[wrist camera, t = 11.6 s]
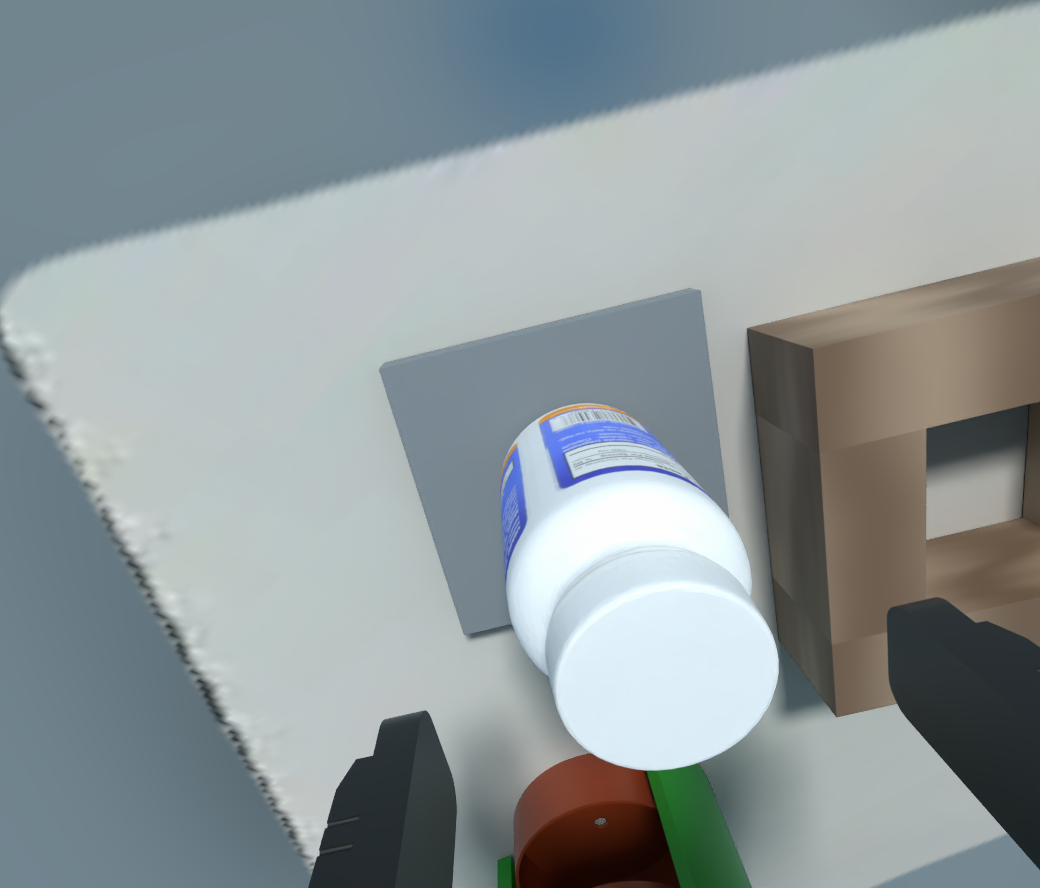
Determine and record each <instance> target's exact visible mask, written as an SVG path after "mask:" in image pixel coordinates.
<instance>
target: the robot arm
mask: <svg viewBox="0 0 1040 888" xmlns="http://www.w3.org/2000/svg"><path fill="white" fill-rule="evenodd" d="M887 644H888V677H889V683H890V687H891V691H892V693H893V696H894V698H895V700H896V702H897V704H898V706H899V708H900V709H901V711H902V713H903V714H904V715H905V717H906V718H907V719H908V720H909V722H910V723H911V724H912V725H913V726H914V727H915V728H916V729H917V731H918V732H919V733H920V734H921V735H922V736H923V737H924V739H925V740H926V741H927V742H928V743H929V744H930V745H931V747H932V748H933V749H934V750H935V751H936V752H937V753H938V755H939V756H940V757H941V758H942V759H943V760H944V761H945V763H946V764H947V765H948V766H949V767H950V768H951V769H952V770H953V772H954V773H955V774H956V775H957V776H958V777H959V778H960V780H961V781H962V782H963V783H964V784H965V785H966V786H967V788H968V789H969V790H970V791H971V792H972V793H973V794H974V796H975V797H976V798H977V799H978V800H979V801H980V802H981V803H982V805H983V806H984V807H985V808H986V809H987V810H988V811H989V813H990V814H991V815H992V816H993V817H994V818H995V819H996V821H997V822H998V823H999V824H1000V825H1001V826H1002V827H1003V829H1004V830H1005V831H1006V832H1007V833H1008V834H1009V835H1010V837H1011V838H1012V839H1013V840H1014V841H1015V842H1016V843H1017V844H1018V846H1019V847H1020V848H1021V849H1022V850H1023V851H1024V852H1025V853H1026V855H1027V856H1028V857H1029V858H1030V859H1031V860H1032V862H1033V863H1034V864H1035V865H1036V866H1037V867H1038V868H1039V870H1040V647H1039V646H1037V645H1036V644H1034V643H1033V642H1032V641H1030V640H1029V639H1028V638H1025V637H1023V636H1021V635H1019V634H1016V633H1014V632H1012V631H1009V630H1007V629H1005V628H1002V627H1000V626H998V625H995V624H993V623H991V622H989V621H983V622H978V623H975V622H974V621H973V620H972V619H970V618H969V617H968V616H966V615H965V614H964V613H963V612H961V611H960V610H959V609H957V608H956V607H955V606H954V605H952V604H951V603H950V602H948V601H947V600H945V599H943V598H940V597H934V598H930V599H925V600H921V601H916V602H912V603H907V604H903V605H898V606H894V607H891V608H890V609H889V610H888V613H887ZM456 815H457V806H456V794H455V787H454V782H453V777H452V774H451V771H450V768H449V765H448V763H447V760H446V757H445V754H444V752H443V749H442V746H441V744H440V741H439V738H438V735H437V733H436V730H435V727H434V724H433V722H432V719H431V717H430V715H429V713H428V712H427V711H420V712H416V713H411V714H407V715H402V716H398V717H394V718H389V719H385V720H383V722H382V723H381V725H380V729H379V733H378V737H377V741H376V746H375V750H374V754H373V756H370V757H365V758H361V759H356V760H355V762H354V763H353V765H352V766H351V768H350V769H349V771H348V773H347V774H346V776H345V777H344V779H343V780H342V782H341V783H340V785H339V786H338V788H337V789H336V792H335V796H334V799H333V803H332V806H331V810H330V813H329V817H328V820H327V824H328V827H327V828H326V829H325V831H324V834H323V838H322V841H321V845H320V848H319V851H320V855H319V856H318V857H317V859H316V862H315V866H314V869H313V873H312V876H311V880H310V883H309V887H308V888H452V881H453V864H454V848H455V832H456Z"/></svg>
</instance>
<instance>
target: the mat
mask: <svg viewBox="0 0 1040 888" xmlns="http://www.w3.org/2000/svg"><path fill="white" fill-rule="evenodd" d="M379 371H380V374H381V377H382V380H383V384H384V387H385V390H386V393H387V396H388V399H389V402H390V405H391V409H392V412H393V415H394V418H395V421H396V424H397V427H398V430H399V434H400V437H401V440H402V443H403V446H404V449H405V452H406V455H407V458H408V462H409V465H410V468H411V471H412V474H413V477H414V480H415V483H416V487H417V490H418V493H419V496H420V499H421V502H422V505H423V508H424V512H425V515H426V518H427V521H428V524H429V527H430V530H431V533H432V536H433V540H434V543H435V546H436V549H437V552H438V555H439V558H440V561H441V565H442V568H443V571H444V574H445V577H446V580H447V583H448V586H449V590H450V593H451V596H452V599H453V602H454V605H455V608H456V611H457V614H458V618H459V621H460V624H461V627H462V630H463V633H464V635H467V634H471V633H475V632H480V631H484V630H488V629H493V628H497V627H501V626H505V625H510V624H512V622H511V619H510V614H509V609H508V601H507V594H506V582H505V568H504V551H503V535H502V518H501V503H500V480H501V472H502V468H503V463H504V460H505V458H506V455H507V453H508V451H509V449H510V447H511V446H512V444H513V442H514V441H515V439H516V438H517V437H518V436H519V435H520V433H521V432H522V431H523V430H524V429H525V428H526V427H527V426H528V425H530V424H531V423H532V422H534V421H535V420H537V419H538V418H540V417H541V416H543V415H545V414H547V413H549V412H551V411H553V410H555V409H558V408H561V407H564V406H568V405H573V404H582V403H593V404H601V405H607V406H610V407H613V408H616V409H619V410H621V411H623V412H625V413H627V414H628V415H630V416H632V417H633V418H635V419H636V420H637V421H639V422H640V423H641V424H643V425H644V426H645V427H646V428H647V429H648V430H649V431H650V432H651V433H652V435H653V436H654V437H655V438H656V439H657V440H658V441H659V442H660V443H661V444H662V445H663V446H664V447H665V448H666V450H667V451H668V452H669V453H670V454H671V455H672V456H673V457H674V458H675V459H676V460H677V461H678V462H679V463H680V465H681V466H682V467H683V468H684V469H685V470H686V471H687V472H688V473H689V474H690V475H691V476H692V477H693V479H694V480H695V481H696V482H697V483H698V484H699V485H700V486H701V487H702V488H703V489H704V491H705V492H706V493H707V494H708V495H709V496H710V497H711V498H712V499H713V500H714V502H715V503H716V504H717V505H718V506H719V507H720V508H721V510H722V511H723V512H724V513H725V514H726V516H727V517H728V518H729V514H728V506H727V498H726V490H725V482H724V474H723V466H722V458H721V450H720V442H719V434H718V426H717V418H716V410H715V402H714V394H713V386H712V378H711V370H710V362H709V354H708V346H707V338H706V330H705V322H704V314H703V306H702V298H701V291H700V290H695V289H690V288H689V289H685V290H681V291H676V292H672V293H668V294H664V295H660V296H656V297H652V298H648V299H644V300H640V301H636V302H631V303H627V304H623V305H619V306H615V307H611V308H607V309H603V310H599V311H595V312H591V313H587V314H582V315H578V316H574V317H570V318H566V319H562V320H558V321H554V322H550V323H546V324H542V325H538V326H533V327H529V328H525V329H521V330H517V331H513V332H509V333H505V334H501V335H497V336H493V337H489V338H484V339H480V340H476V341H472V342H468V343H464V344H460V345H456V346H452V347H448V348H444V349H439V350H435V351H431V352H427V353H423V354H419V355H415V356H411V357H407V358H403V359H399V360H395V361H390V362H386V363H384V364H383V365H382V366H381V367H380V369H379Z"/></svg>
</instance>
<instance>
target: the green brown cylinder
mask: <svg viewBox="0 0 1040 888" xmlns="http://www.w3.org/2000/svg"><path fill="white" fill-rule="evenodd" d="M598 818H605V819H606V820H607V822H606V823H605V824H603V825H596V824H595V823H594V821H595V820H596V819H598ZM514 850H515V861H514V859H513V858H512V857H511V856H509V857H506V858H504V859H501V860H499V861H498V888H752V887H751V884H750V882H749V879H748V877H747V874H746V872H745V869H744V867H743V864H742V862H741V860H740V857H739V855H738V852H737V850H736V847H735V845H734V842H733V840H732V837H731V835H730V832H729V830H728V827H727V825H726V822H725V820H724V817H723V815H722V813H721V810H720V808H719V805H718V803H717V800H716V798H715V795H714V793H713V790H712V788H711V785H710V783H709V781H708V778H707V777H706V775H705V773H704V771H703V770H702V769H701V767H700V766H699V765H698V764H697V763H696V764H693V765H690V766H685V767H680V768H675V769H670V770H657V771H656V770H637V769H632V768H627V767H622V766H619V765H615V764H612V763H610V762H607V761H605V760H603V759H600V758H598V757H597V756H595V755H594V754H587V755H582V756H578V757H574V758H571V759H568V760H566V761H563V762H561V763H559V764H557V765H555V766H553V767H551V768H550V769H548V770H546V771H545V772H544V773H542V774H541V775H540V776H538V777H537V778H536V779H535V780H534V781H533V782H532V783H531V784H530V785H529V786H528V787H527V789H526V790H525V791H524V793H523V794H522V796H521V798H520V800H519V802H518V804H517V807H516V810H515V814H514Z"/></svg>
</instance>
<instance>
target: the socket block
mask: <svg viewBox="0 0 1040 888" xmlns="http://www.w3.org/2000/svg"><path fill="white" fill-rule="evenodd" d="M747 329H748V339H749V349H750V359H751V369H752V379H753V389H754V399H755V409H756V418H757V428H758V438H759V448H760V458H761V468H762V478H763V488H764V498H765V508H766V518H767V527H768V537H769V547H770V557H771V567H772V577H773V587H774V597H775V607H776V617H777V627H778V636H779V641H780V642H781V643H782V645H783V646H784V648H785V649H786V650H787V652H788V653H789V654H790V656H791V657H792V658H793V660H794V661H795V662H796V664H797V665H798V666H799V668H800V669H801V670H802V672H803V673H804V674H805V676H806V677H807V678H808V680H809V681H810V682H811V684H812V685H813V686H814V688H815V689H816V690H817V692H818V693H819V694H820V696H821V697H822V699H823V700H824V701H825V703H826V704H827V705H828V707H829V708H830V709H831V711H832V712H833V713H834V715H835V716H836V717H840V716H845V715H849V714H854V713H858V712H862V711H867V710H871V709H876V708H880V707H884V706H889V705H893V704H897V702H896V700H895V698H894V696H893V693H892V691H891V687H890V683H889V677H888V644H887V613H888V610H889V609H890V608H891V607H894V606H898V605H903V604H907V603H912V602H916V601H921V600H925V599H930V598H934V597H940V598H943V599H945V600H947V601H948V602H950V603H951V604H952V605H954V606H955V607H956V608H957V609H959V610H960V611H961V612H963V613H964V614H965V615H966V616H968V617H969V618H970V619H972V620H973V621H974V622H975V623H978V622H983V621H989V622H991V623H993V624H995V625H998V626H1000V627H1002V628H1005V629H1007V630H1009V631H1012V632H1014V633H1016V634H1019V635H1021V636H1023V637H1025V638H1028V639H1029V640H1030V641H1032V642H1033V643H1034V644H1036V645H1037V646H1039V647H1040V257H1039V258H1035V259H1031V260H1026V261H1022V262H1018V263H1014V264H1010V265H1006V266H1002V267H998V268H993V269H989V270H985V271H981V272H977V273H973V274H969V275H965V276H960V277H956V278H952V279H948V280H944V281H940V282H936V283H932V284H928V285H923V286H919V287H915V288H911V289H907V290H903V291H899V292H895V293H890V294H886V295H882V296H878V297H874V298H870V299H866V300H862V301H858V302H853V303H849V304H845V305H841V306H837V307H833V308H829V309H825V310H820V311H816V312H812V313H808V314H804V315H800V316H796V317H792V318H787V319H783V320H779V321H775V322H771V323H767V324H763V325H759V326H755V327H750V328H747ZM1027 404H1030V410H1029V426H1028V441H1027V457H1026V472H1025V488H1024V503H1023V518H1020V519H1016V520H1012V521H1007V522H1003V523H999V524H995V525H990V526H986V527H982V528H977V529H973V530H969V531H965V532H960V533H956V534H952V535H947V536H943V537H939V538H935V539H930V540H926V428H930V427H935V426H939V425H943V424H947V423H951V422H956V421H960V420H964V419H968V418H973V417H977V416H981V415H985V414H989V413H994V412H998V411H1002V410H1006V409H1010V408H1015V407H1019V406H1023V405H1027Z"/></svg>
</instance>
